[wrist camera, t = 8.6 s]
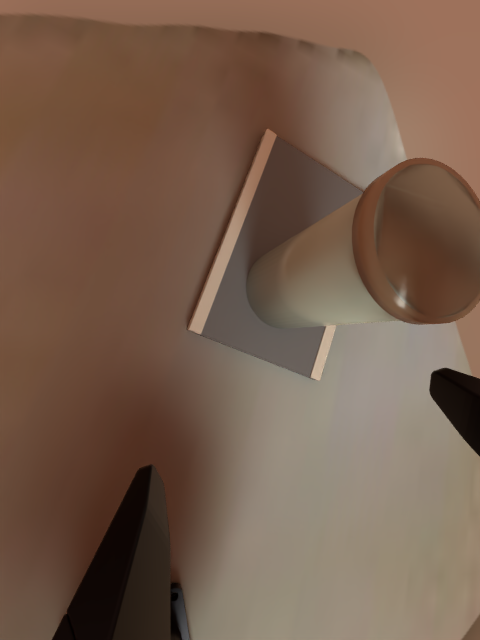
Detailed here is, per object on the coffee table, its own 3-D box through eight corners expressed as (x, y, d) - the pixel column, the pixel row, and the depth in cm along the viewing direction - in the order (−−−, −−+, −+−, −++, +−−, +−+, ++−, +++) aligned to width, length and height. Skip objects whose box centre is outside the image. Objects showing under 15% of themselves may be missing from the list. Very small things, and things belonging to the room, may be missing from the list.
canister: (304, 343, 22) (473, 347, 11) (231, 312, 20) (347, 280, 10) (328, 269, 23) (504, 208, 12) (260, 233, 21) (395, 125, 11)
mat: (314, 379, 23) (319, 380, 22) (186, 329, 20) (188, 329, 19) (368, 202, 26) (375, 198, 25) (263, 134, 23) (267, 128, 22)
